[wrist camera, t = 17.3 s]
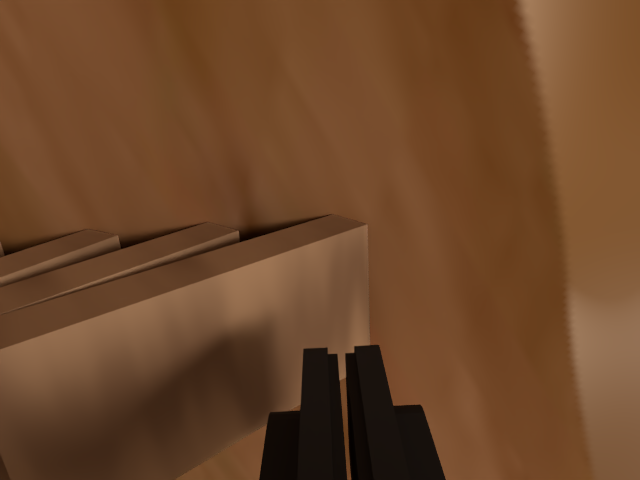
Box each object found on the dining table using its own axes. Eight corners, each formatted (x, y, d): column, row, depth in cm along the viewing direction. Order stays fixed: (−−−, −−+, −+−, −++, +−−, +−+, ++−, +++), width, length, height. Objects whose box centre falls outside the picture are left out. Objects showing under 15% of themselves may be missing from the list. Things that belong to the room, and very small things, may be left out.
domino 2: (370, 362, 15) (41, 559, 10) (339, 343, 17) (29, 508, 11) (367, 224, 14) (-36, 361, 8) (333, 214, 15) (-41, 327, 9)
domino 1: (255, 365, 16) (-136, 613, 9) (226, 350, 17) (-144, 560, 10) (238, 230, 14) (-265, 406, 7) (208, 221, 15) (-257, 368, 8)
